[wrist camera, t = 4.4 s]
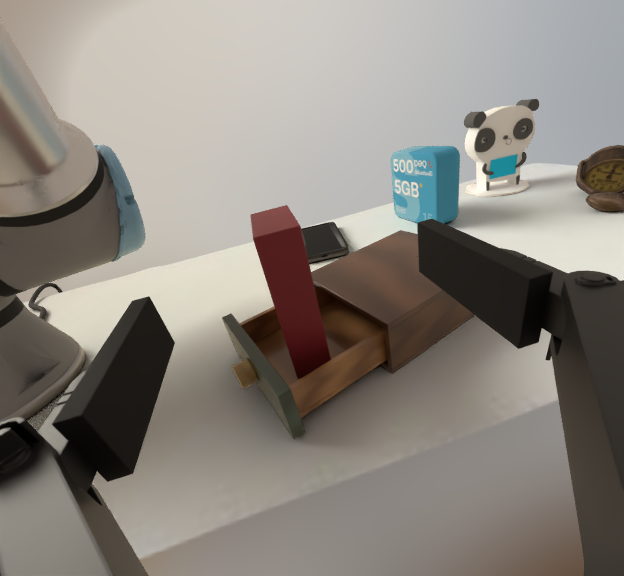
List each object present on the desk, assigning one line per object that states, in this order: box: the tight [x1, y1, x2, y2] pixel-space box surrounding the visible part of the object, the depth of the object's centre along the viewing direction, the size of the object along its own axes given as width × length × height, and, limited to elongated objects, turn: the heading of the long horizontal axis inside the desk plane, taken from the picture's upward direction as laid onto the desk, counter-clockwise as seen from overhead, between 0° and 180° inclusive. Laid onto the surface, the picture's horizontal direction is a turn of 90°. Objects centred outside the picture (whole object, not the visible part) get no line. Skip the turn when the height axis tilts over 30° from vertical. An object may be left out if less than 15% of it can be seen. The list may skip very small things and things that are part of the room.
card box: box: [251, 205, 331, 379], centre depth 26 cm, size 6×3×13 cm, turn 12°
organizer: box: [311, 230, 474, 373], centre depth 33 cm, size 15×13×5 cm
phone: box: [301, 222, 349, 263], centre depth 55 cm, size 8×1×15 cm
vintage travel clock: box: [576, 145, 624, 211], centre depth 46 cm, size 7×13×10 cm
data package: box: [391, 146, 460, 224], centre depth 53 cm, size 12×4×12 cm, turn 22°
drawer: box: [222, 286, 387, 439], centre depth 29 cm, size 17×13×5 cm
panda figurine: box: [464, 99, 539, 196], centre depth 59 cm, size 12×11×15 cm
